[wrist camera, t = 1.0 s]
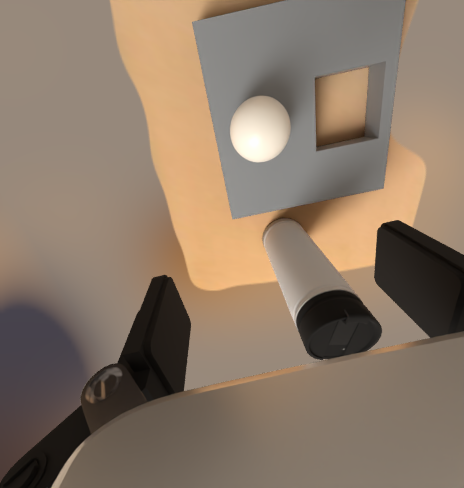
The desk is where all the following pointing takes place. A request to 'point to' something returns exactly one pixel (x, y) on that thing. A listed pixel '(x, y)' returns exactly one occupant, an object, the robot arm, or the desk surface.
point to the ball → (260, 128)
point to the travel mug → (318, 295)
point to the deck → (301, 94)
